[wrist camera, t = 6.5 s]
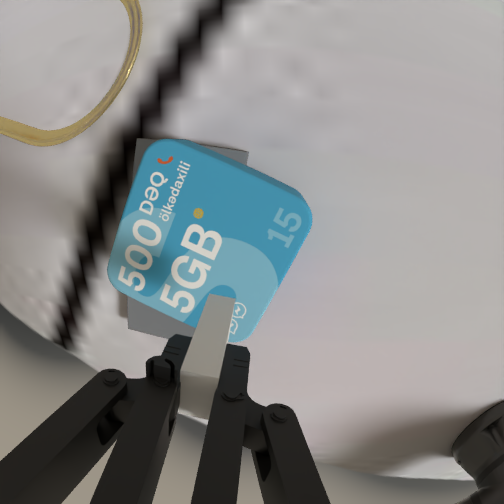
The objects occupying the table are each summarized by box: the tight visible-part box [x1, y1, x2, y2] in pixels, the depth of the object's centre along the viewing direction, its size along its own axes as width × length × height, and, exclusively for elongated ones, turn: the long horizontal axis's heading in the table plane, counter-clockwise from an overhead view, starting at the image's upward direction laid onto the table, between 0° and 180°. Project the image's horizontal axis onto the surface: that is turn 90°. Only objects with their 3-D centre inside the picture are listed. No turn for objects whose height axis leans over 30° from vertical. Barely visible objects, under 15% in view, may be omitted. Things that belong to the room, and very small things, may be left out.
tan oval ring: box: [0, 0, 143, 146], centre depth 20 cm, size 19×35×2 cm, turn 67°
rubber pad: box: [127, 138, 249, 339], centre depth 26 cm, size 18×9×2 cm, turn 170°
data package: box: [107, 139, 312, 342], centre depth 23 cm, size 12×4×12 cm
